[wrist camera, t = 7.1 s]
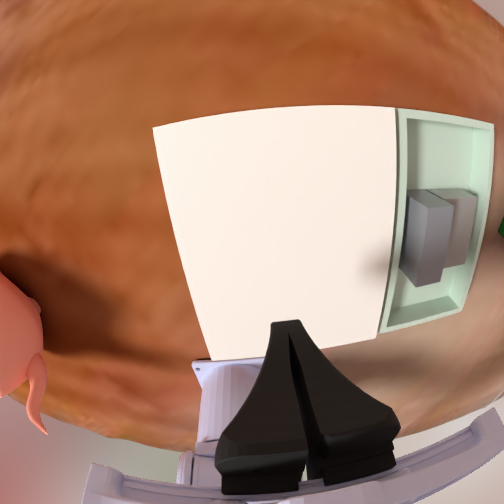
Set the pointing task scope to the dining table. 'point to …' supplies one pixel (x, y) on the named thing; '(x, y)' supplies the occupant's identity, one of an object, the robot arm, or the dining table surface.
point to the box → (436, 177)
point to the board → (283, 220)
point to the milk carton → (501, 228)
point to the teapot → (21, 347)
